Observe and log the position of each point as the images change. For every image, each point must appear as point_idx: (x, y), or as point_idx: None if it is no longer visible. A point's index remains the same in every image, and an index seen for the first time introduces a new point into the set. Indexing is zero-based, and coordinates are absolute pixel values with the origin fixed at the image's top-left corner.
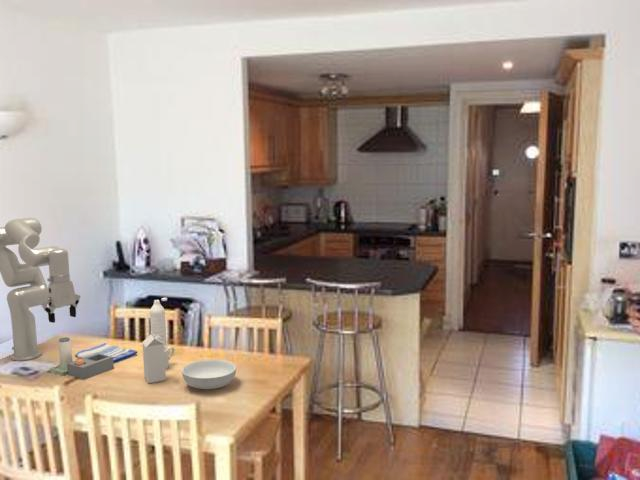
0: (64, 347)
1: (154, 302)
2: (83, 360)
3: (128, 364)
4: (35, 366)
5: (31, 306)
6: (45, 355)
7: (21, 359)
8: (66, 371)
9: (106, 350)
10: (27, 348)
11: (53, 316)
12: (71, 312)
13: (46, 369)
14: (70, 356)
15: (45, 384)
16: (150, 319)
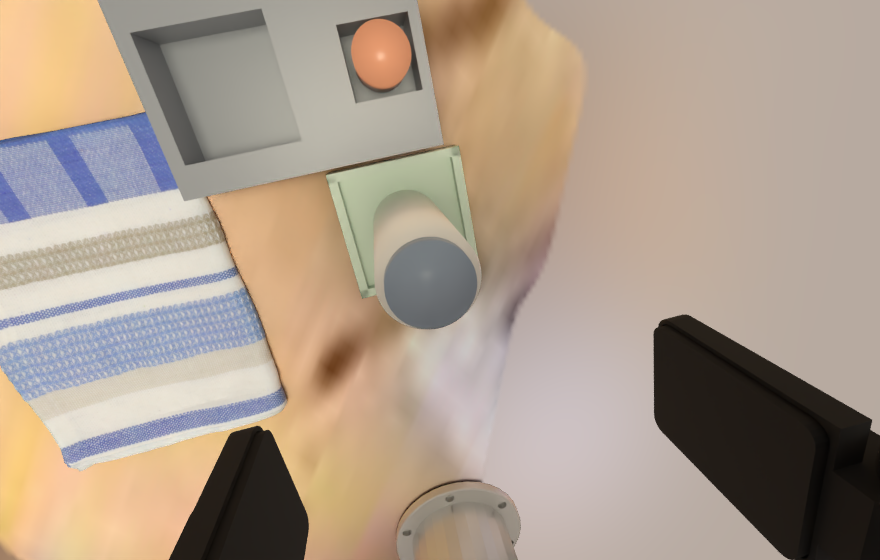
0: (445, 222)
1: None
2: (357, 31)
3: (18, 8)
4: (487, 388)
5: None
6: (392, 497)
7: (499, 491)
8: (439, 149)
9: (95, 356)
10: (480, 538)
11: (784, 370)
12: (277, 555)
13: (471, 314)
14: (394, 207)
15: (577, 90)
16: None
